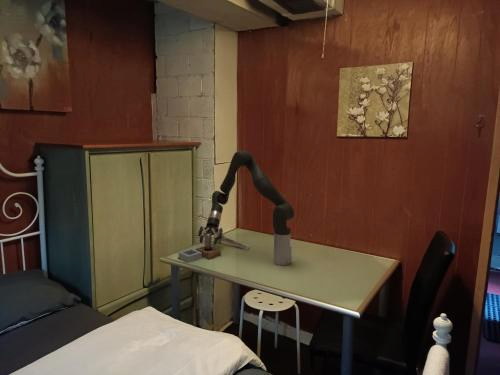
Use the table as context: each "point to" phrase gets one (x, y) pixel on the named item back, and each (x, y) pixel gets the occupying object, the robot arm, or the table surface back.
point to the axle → (208, 241)
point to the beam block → (209, 252)
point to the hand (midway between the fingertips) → (207, 243)
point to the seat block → (190, 255)
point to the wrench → (232, 242)
